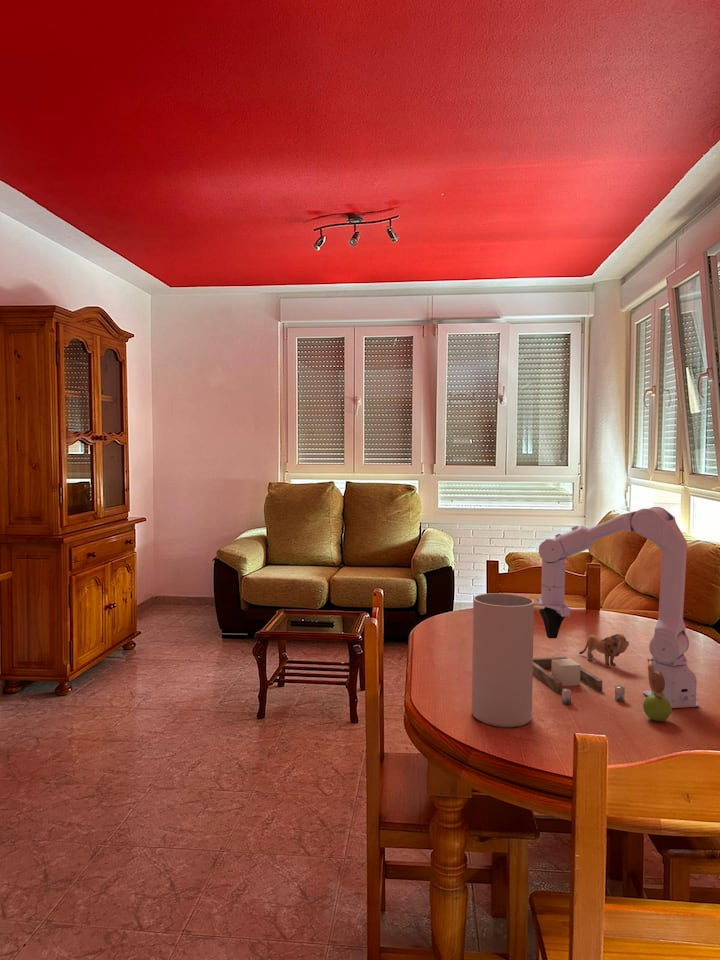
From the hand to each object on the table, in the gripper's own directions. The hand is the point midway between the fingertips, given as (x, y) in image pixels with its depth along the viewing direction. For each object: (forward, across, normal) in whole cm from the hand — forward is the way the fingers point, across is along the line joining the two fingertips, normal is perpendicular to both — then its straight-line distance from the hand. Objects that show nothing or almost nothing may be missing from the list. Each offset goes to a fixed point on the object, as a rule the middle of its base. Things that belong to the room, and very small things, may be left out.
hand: (551, 637), depth 164 cm
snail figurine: (+9, +32, +8) cm, 34 cm away
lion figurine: (+9, -5, +18) cm, 21 cm away
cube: (+9, +8, 0) cm, 12 cm away
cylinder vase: (+9, +26, -24) cm, 36 cm away
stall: (+9, +6, 0) cm, 11 cm away
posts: (+9, +20, 0) cm, 22 cm away
